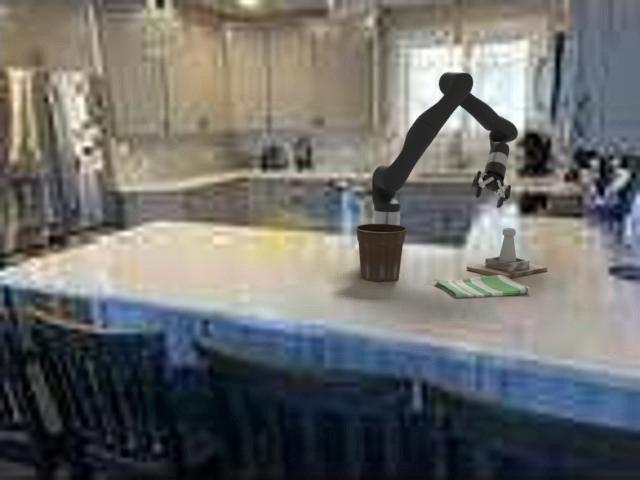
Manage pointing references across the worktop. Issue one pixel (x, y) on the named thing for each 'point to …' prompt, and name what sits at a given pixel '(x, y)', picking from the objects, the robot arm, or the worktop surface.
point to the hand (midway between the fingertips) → (488, 202)
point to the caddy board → (507, 268)
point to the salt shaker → (508, 246)
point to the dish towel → (482, 287)
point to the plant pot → (380, 251)
